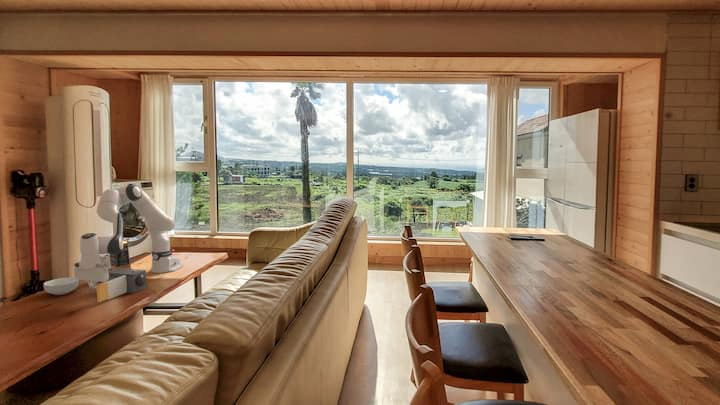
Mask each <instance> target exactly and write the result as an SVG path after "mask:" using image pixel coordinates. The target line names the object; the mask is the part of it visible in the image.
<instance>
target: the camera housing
mask: <svg viewBox="0 0 720 405" xmlns="http://www.w3.org/2000/svg"><path fill="white" fill-rule="evenodd" d="M108 273H109V280H108V281H110V280H113V279H116V278H118V277H121V276H124V275H126V281H127V292H126V293H129V294H135V293H138V292H140V291H142V290H145V289H147V288H148V286H147V283H148V282H147V270H146V269H136V268H131V269H128V268H117V269H114V270H110V271H108Z"/></svg>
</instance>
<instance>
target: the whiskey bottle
mask: <svg viewBox="0 0 720 405" xmlns="http://www.w3.org/2000/svg"><path fill="white" fill-rule="evenodd" d="M123 244H124V246H123V250H122V251H121V252H119V253H118V254H110V258H111V269H112V270H114V269H117V268H128V269H132V266H131V265H132V264H130V262H131V261H130V252H129V245H130V242H128V241H127V240H125V239H123Z"/></svg>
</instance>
